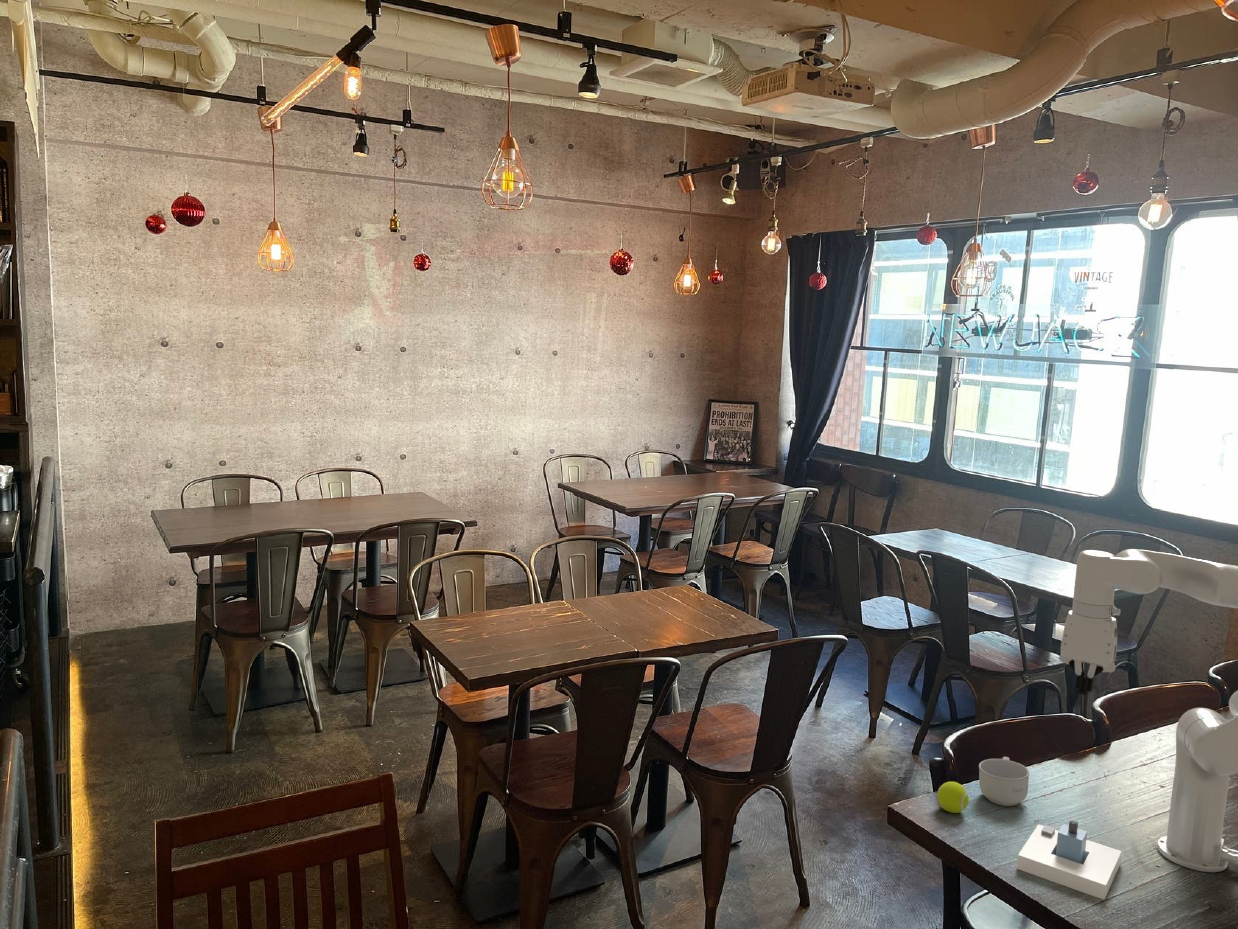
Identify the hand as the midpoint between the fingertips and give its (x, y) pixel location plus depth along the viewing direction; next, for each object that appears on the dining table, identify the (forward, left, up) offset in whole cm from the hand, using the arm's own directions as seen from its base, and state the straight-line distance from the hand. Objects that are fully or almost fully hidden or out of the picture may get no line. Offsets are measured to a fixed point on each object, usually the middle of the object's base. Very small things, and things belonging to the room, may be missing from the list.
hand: (1083, 693), depth 196 cm
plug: (-3, +14, -32) cm, 35 cm away
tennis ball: (+23, +7, -32) cm, 40 cm away
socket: (-3, +14, -32) cm, 35 cm away
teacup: (+16, -8, -32) cm, 37 cm away
